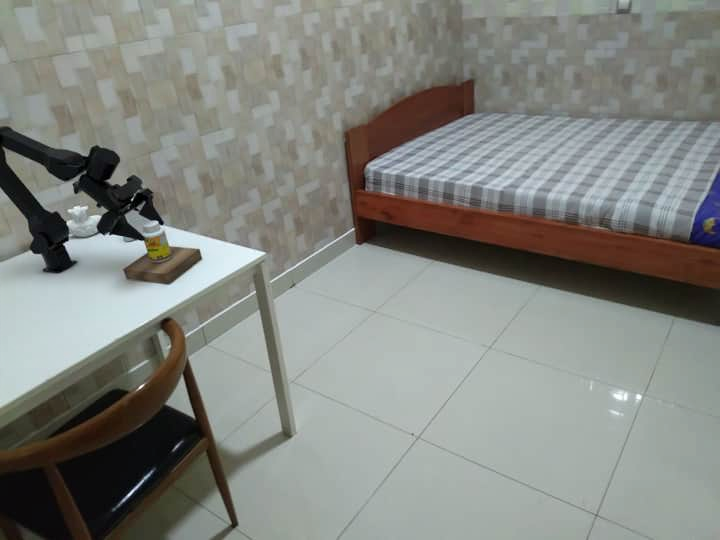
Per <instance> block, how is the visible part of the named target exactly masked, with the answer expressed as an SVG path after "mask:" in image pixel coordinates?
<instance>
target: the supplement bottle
mask: <svg viewBox="0 0 720 540" xmlns="http://www.w3.org/2000/svg"><path fill="white" fill-rule="evenodd" d="M142 226H143V230H144V231H143V233H142V235H143V236H144V237H145V239H144V241H143V242H144V245H145V249H146V251H147V252H146V253H148V255H149V258H150V260H151V261H152V262H154V263H160V262H164V261H166V260H168V259H169V258H170V257H171V251H170V247H169V246H170V244H169V242H168V237H167V234H166V231H165V229H164V227H162V226H161V225H159V222H158V221H149V222H146V223H144V224H143V225H142Z"/></svg>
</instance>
